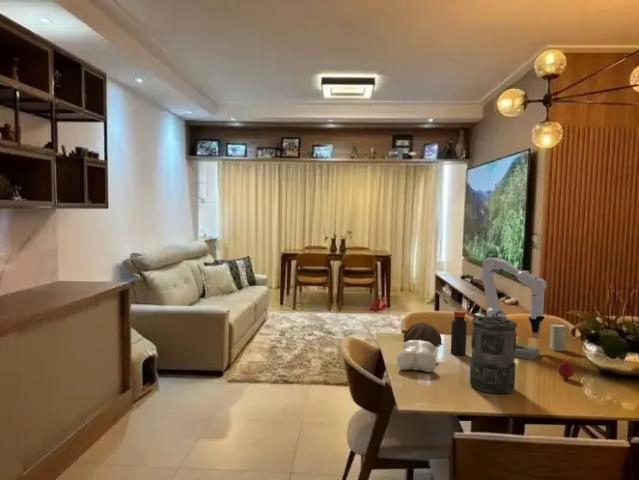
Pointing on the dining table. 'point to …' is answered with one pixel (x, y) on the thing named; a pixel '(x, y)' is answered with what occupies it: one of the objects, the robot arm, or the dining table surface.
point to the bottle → (458, 334)
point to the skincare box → (558, 337)
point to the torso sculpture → (417, 356)
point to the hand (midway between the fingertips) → (536, 331)
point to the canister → (493, 354)
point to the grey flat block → (526, 352)
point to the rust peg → (538, 334)
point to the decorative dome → (423, 333)
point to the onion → (566, 369)
